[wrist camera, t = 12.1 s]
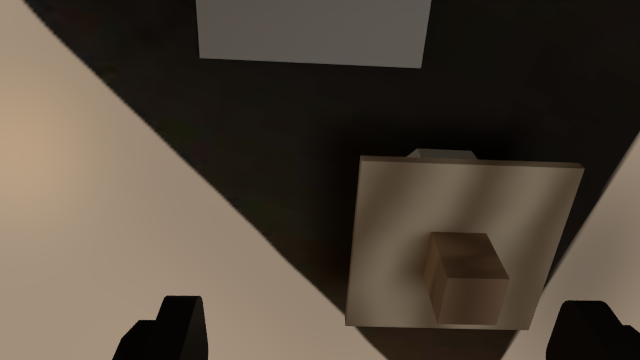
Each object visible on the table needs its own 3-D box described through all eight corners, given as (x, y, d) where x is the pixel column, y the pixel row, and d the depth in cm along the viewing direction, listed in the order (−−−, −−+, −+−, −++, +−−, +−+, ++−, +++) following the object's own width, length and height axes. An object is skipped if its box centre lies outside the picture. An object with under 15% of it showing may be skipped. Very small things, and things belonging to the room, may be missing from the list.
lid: (579, 163, 34) (624, 209, 29) (524, 322, 42) (554, 381, 37) (360, 155, 34) (369, 201, 29) (344, 318, 41) (349, 377, 36)
